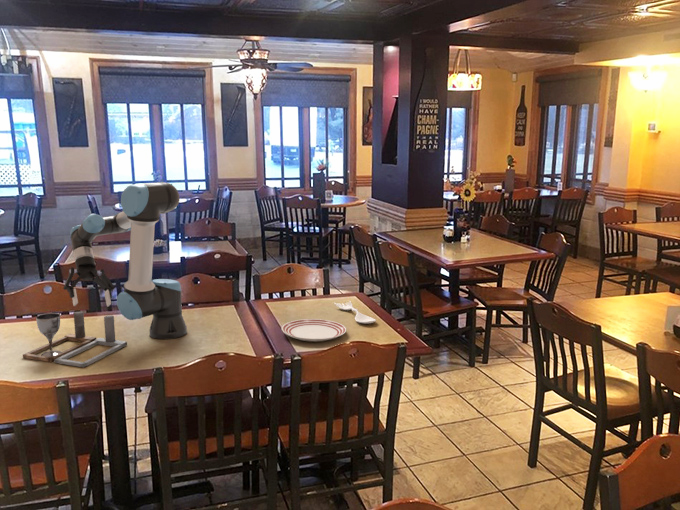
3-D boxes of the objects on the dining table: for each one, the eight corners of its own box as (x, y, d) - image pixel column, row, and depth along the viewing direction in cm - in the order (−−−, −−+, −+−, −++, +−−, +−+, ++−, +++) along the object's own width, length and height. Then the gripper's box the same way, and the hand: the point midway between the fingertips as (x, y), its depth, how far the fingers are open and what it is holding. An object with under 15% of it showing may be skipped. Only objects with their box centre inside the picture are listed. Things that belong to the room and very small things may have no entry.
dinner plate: (316, 320, 267) (316, 313, 266) (359, 335, 248) (359, 328, 247) (268, 334, 248) (268, 326, 247) (311, 351, 229) (311, 343, 228)
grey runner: (127, 344, 231) (125, 317, 229) (84, 367, 208) (81, 336, 206) (100, 341, 235) (98, 313, 233) (54, 362, 212) (51, 332, 210)
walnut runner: (97, 340, 235) (95, 313, 233) (51, 362, 213) (48, 332, 210) (70, 336, 239) (68, 309, 237) (22, 357, 216) (19, 328, 214)
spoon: (350, 306, 290) (350, 299, 289) (379, 325, 261) (379, 318, 261) (333, 308, 287) (333, 301, 286) (361, 327, 258) (361, 320, 257)
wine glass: (47, 359, 216) (44, 320, 213) (35, 354, 220) (31, 316, 217) (67, 352, 222) (64, 315, 219) (55, 348, 226) (51, 311, 223)
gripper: (109, 266, 255) (118, 309, 247) (50, 262, 237) (57, 308, 228) (117, 257, 251) (126, 301, 242) (57, 252, 233) (64, 299, 224)
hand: (92, 304), depth 235 cm, fingers open, 13 cm apart
